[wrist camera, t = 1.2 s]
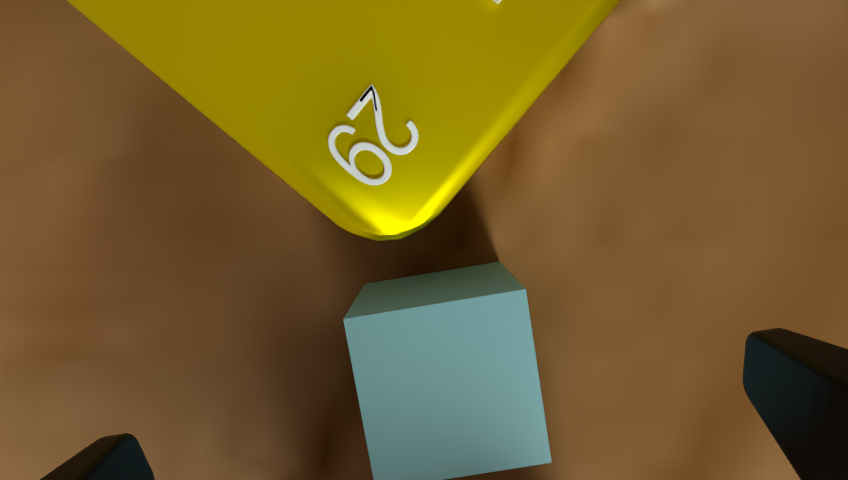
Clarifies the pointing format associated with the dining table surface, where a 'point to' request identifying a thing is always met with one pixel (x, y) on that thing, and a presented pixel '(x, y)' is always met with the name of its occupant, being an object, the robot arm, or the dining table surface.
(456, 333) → the block
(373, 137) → the element tile
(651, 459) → the dining table surface
